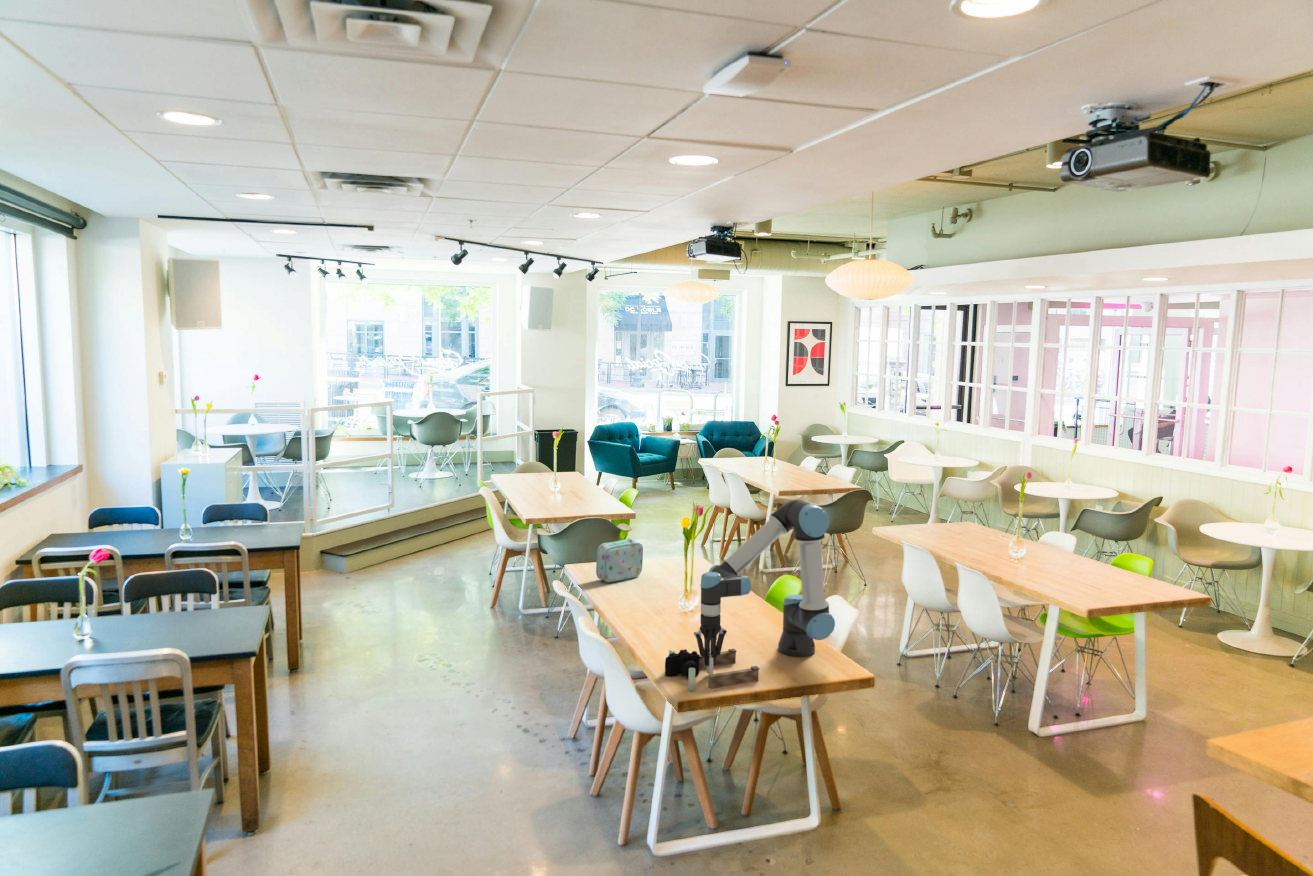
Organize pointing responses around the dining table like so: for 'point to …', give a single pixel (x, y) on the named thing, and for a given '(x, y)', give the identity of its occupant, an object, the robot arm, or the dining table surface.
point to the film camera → (682, 663)
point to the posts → (691, 676)
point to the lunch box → (619, 560)
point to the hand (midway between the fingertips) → (709, 673)
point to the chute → (731, 676)
